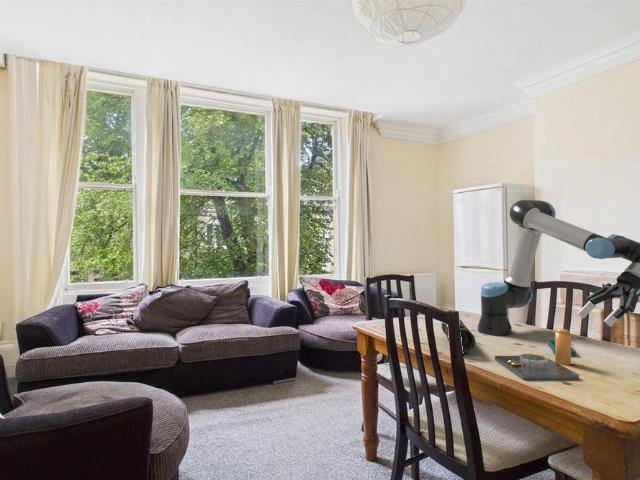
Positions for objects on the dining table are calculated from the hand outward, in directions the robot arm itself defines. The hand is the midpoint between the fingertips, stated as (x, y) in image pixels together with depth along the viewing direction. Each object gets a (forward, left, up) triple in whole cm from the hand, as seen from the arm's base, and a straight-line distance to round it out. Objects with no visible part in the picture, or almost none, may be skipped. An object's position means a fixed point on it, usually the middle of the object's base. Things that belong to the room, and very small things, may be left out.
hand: (593, 319), depth 138 cm
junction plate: (+6, -25, -16) cm, 30 cm away
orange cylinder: (0, -11, -16) cm, 19 cm away
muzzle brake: (-24, -41, -16) cm, 50 cm away
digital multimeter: (-15, -2, -16) cm, 22 cm away
